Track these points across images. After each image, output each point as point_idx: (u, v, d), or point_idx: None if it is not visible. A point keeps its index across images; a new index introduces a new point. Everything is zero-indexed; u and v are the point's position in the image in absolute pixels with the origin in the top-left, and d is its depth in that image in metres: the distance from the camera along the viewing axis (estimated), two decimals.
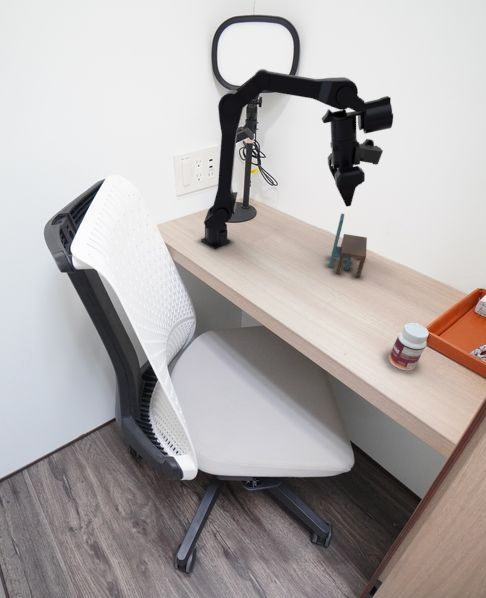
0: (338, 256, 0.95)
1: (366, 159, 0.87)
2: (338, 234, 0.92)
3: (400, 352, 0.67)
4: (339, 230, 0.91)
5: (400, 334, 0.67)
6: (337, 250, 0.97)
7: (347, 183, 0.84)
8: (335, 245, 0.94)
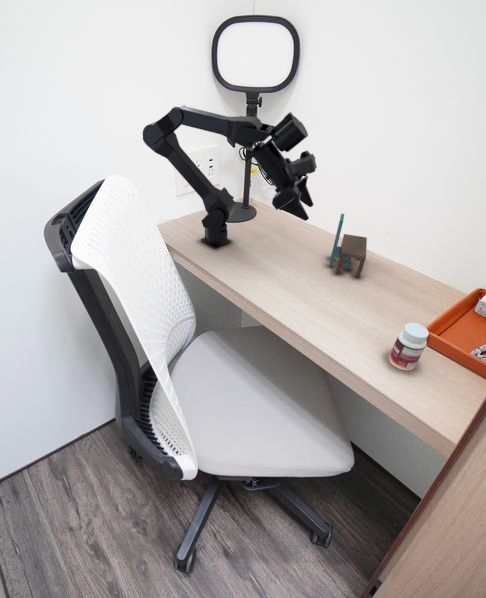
0: (338, 256, 0.95)
1: (300, 172, 0.87)
2: (338, 234, 0.92)
3: (400, 352, 0.67)
4: (339, 230, 0.91)
5: (400, 334, 0.67)
6: (337, 250, 0.97)
7: (282, 204, 0.85)
8: (335, 245, 0.94)
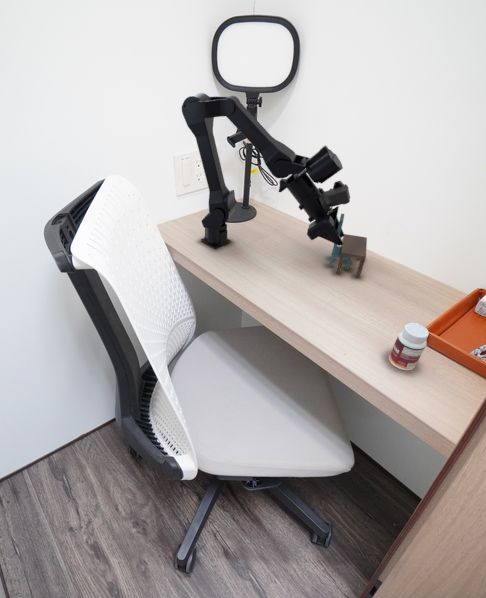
0: (338, 256, 0.95)
1: (334, 203, 0.88)
2: None
3: (400, 352, 0.67)
4: (339, 230, 0.91)
5: (400, 334, 0.67)
6: (337, 250, 0.97)
7: (318, 235, 0.87)
8: (335, 245, 0.94)
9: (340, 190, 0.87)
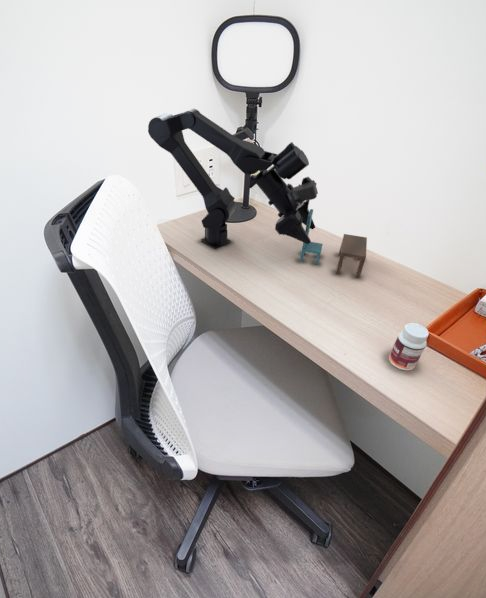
0: (308, 251, 0.97)
1: (302, 199, 0.90)
2: (307, 229, 0.94)
3: (400, 352, 0.67)
4: (308, 225, 0.93)
5: (400, 334, 0.67)
6: (307, 245, 0.99)
7: (285, 229, 0.89)
8: None
9: (307, 186, 0.89)
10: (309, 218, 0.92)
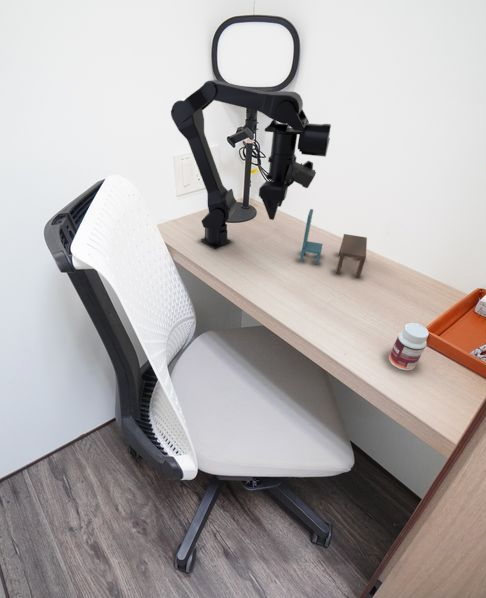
0: (308, 251, 0.97)
1: (297, 179, 0.88)
2: (307, 229, 0.94)
3: (400, 352, 0.67)
4: (308, 225, 0.93)
5: (400, 334, 0.67)
6: (307, 245, 0.99)
7: (267, 196, 0.85)
8: (304, 240, 0.96)
9: (309, 172, 0.87)
10: (309, 218, 0.92)
